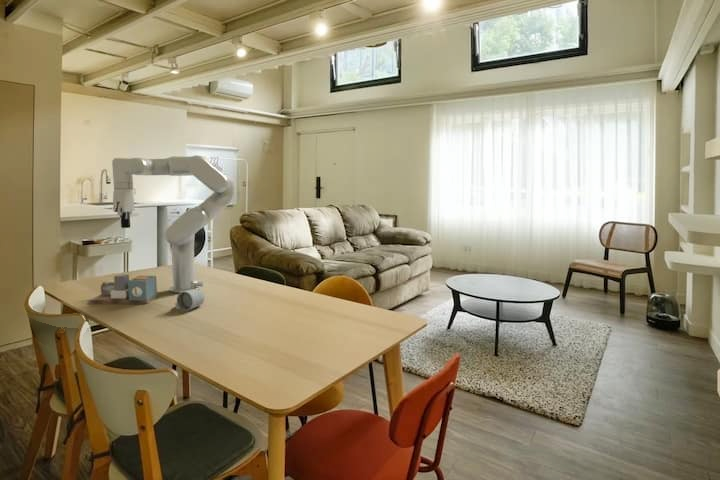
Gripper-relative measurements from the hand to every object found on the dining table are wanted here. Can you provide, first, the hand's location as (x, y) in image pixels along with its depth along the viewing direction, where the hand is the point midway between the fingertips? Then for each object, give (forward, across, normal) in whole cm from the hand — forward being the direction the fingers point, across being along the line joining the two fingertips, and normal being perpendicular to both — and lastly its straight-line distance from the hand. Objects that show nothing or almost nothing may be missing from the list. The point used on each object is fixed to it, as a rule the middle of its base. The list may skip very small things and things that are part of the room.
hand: (125, 227), depth 191 cm
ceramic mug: (+29, +27, +36) cm, 53 cm away
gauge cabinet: (+28, +16, +13) cm, 35 cm away
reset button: (+22, +16, +14) cm, 31 cm away
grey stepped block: (+27, +16, +5) cm, 32 cm away
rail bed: (+29, +16, +6) cm, 34 cm away
